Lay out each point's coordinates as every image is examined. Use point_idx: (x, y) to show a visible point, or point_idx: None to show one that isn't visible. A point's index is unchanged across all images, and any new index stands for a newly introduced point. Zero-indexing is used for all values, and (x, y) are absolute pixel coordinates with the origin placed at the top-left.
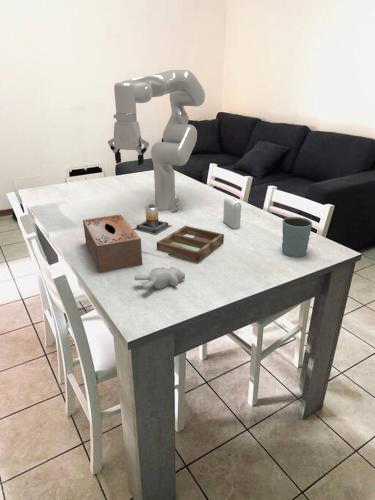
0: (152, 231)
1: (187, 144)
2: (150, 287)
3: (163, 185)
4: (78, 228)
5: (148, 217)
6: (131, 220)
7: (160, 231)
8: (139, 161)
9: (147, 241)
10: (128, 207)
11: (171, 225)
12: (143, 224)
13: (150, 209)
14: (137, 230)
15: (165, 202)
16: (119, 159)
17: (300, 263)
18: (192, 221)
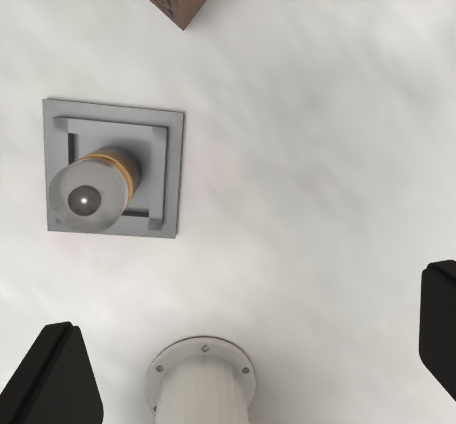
0: (72, 117)
1: None
2: None
3: None
4: (429, 34)
5: (98, 153)
6: (262, 221)
7: (51, 147)
8: (24, 361)
9: (51, 39)
10: (355, 337)
11: (52, 230)
12: (151, 161)
13: (71, 164)
14: (153, 111)
15: (177, 387)
16: (450, 347)
17: None
18: (21, 323)
